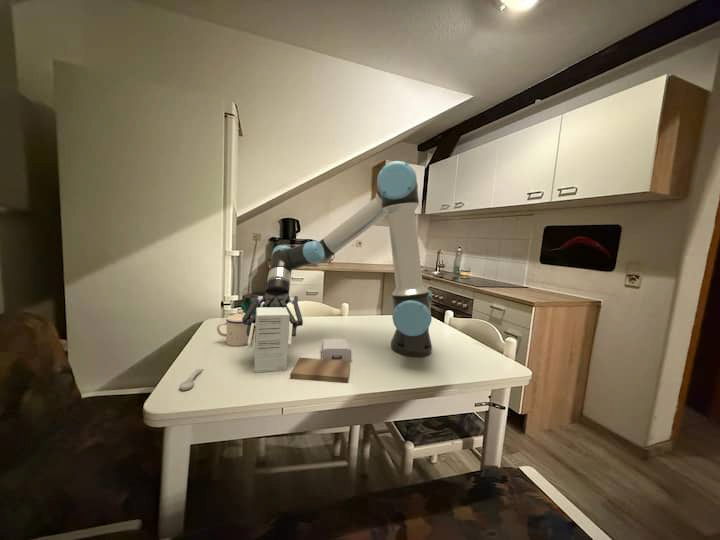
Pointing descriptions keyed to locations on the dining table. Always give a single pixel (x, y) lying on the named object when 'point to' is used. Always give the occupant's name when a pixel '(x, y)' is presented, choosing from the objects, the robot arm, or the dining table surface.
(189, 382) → the spoon
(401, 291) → the robot arm
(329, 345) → the charger
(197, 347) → the dining table surface
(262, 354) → the supplement box
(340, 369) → the walnut board
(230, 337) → the teacup with lid
